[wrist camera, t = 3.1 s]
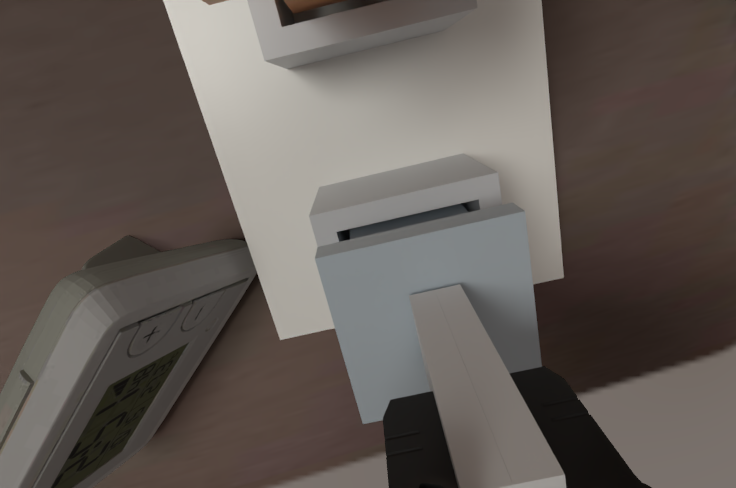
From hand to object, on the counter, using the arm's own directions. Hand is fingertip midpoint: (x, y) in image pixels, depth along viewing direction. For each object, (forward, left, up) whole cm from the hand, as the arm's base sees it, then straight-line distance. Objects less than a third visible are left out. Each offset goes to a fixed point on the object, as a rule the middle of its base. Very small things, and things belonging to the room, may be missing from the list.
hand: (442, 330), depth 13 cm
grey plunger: (0, 0, -8) cm, 8 cm away
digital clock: (-15, -3, -12) cm, 20 cm away
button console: (0, +6, -12) cm, 13 cm away
